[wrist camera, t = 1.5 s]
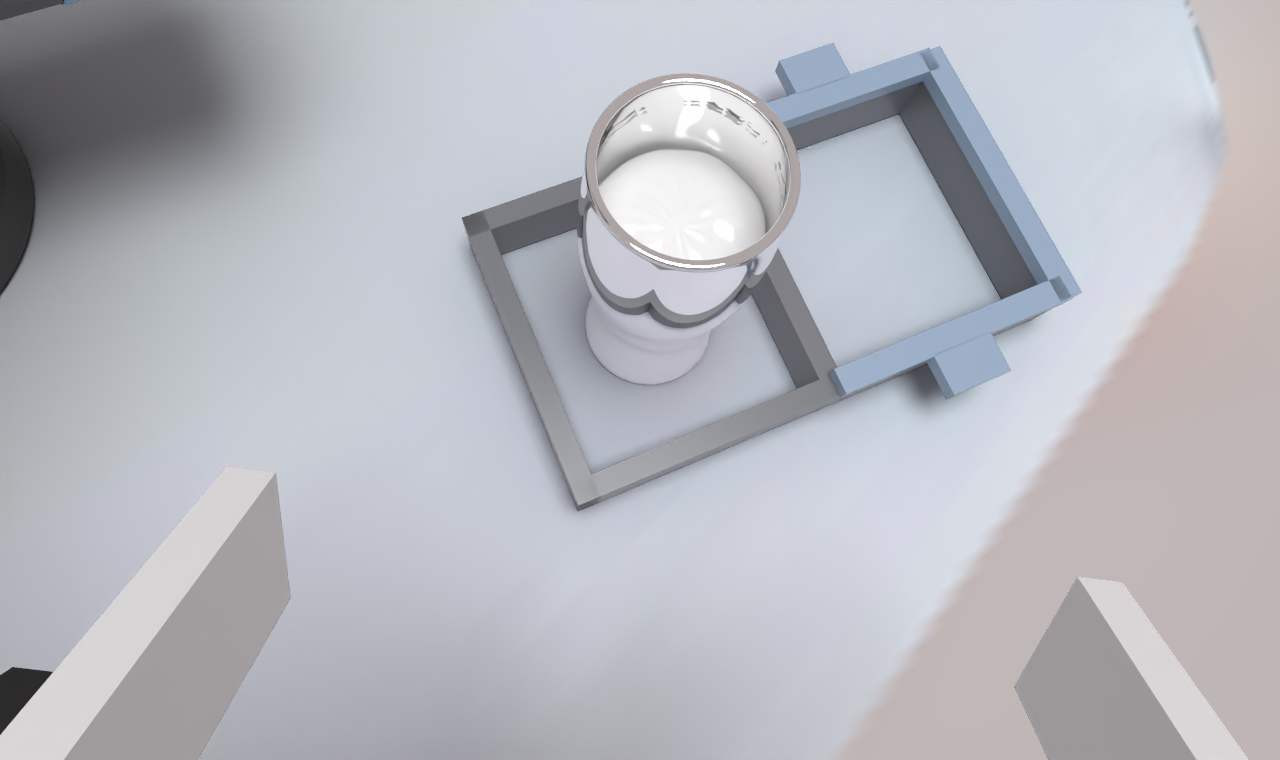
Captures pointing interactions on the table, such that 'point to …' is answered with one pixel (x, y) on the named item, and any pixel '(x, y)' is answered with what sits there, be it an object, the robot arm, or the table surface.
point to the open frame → (811, 115)
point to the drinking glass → (679, 218)
